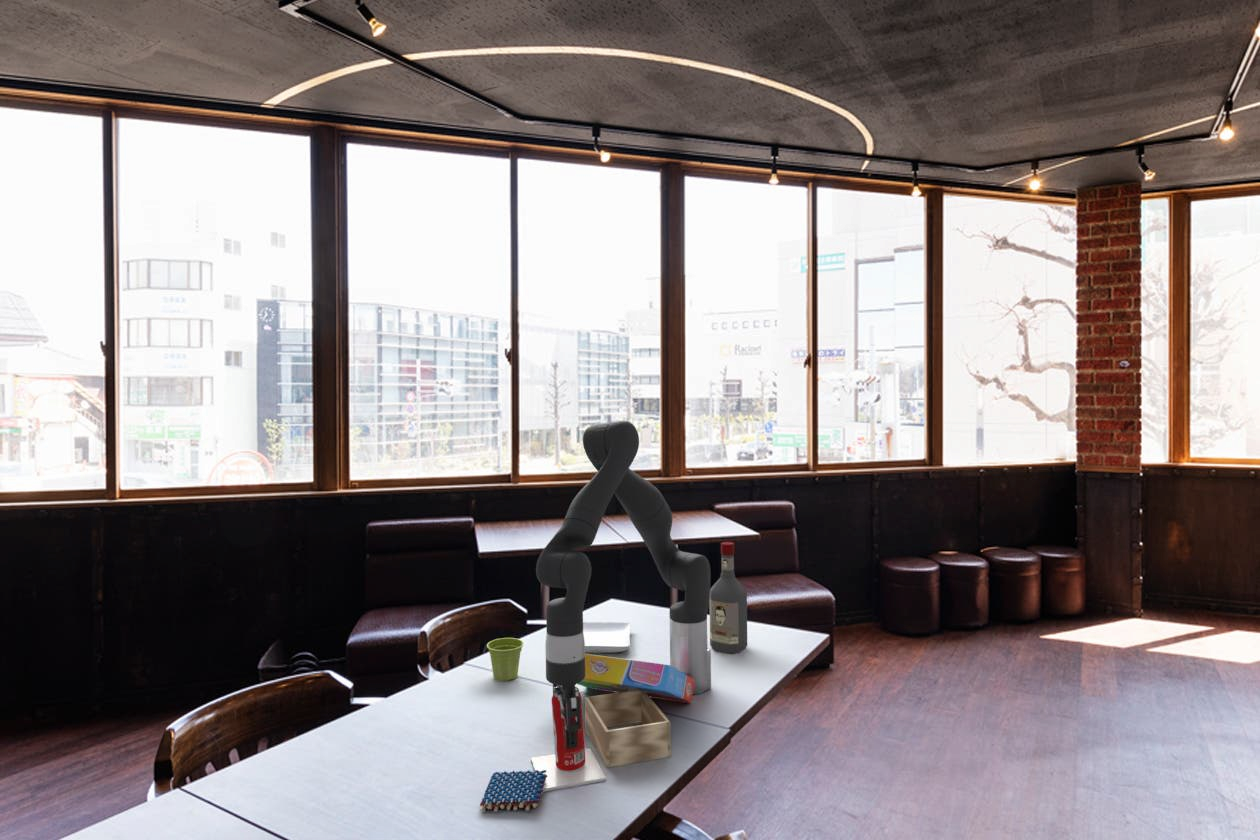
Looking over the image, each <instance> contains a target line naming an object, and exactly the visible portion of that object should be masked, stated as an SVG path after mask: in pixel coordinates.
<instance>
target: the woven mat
mask: <svg viewBox="0 0 1260 840" xmlns="http://www.w3.org/2000/svg"><path fill="white" fill-rule="evenodd" d="M542 773H543V774H542ZM544 773H546V770H543V771H541V770H540V771H538V770H536V771H535V770H533V771H531V770H530V769H528V770H527V771H526V770H524V771H523V770H519V771H515V770H512V771H509V772H507V770H504V771H495V772H494V773H492V775H491V777H490V779H489V782H488V784H487V786H486V789H485V791H484V793H483V795H484V796H483V797H482V798H481V802H480V803H479V806H480V807H481V809H480V812H481V813H482V814H483V813H485V812H486V810H492V809H493V808H494V809H493V812H495V813H497V812H498V810H499V808H500V809H501V810H504V809H505V808H506V810H507V811H511V807H512V806H513V811H517V810H518V808H520V809H523V808H524V807H525V811H526V812H527V811H530V808H531V805H532V807H533V808H534V809H536V808H537V807H538V805H539V804H540V803H541V798H542V793H543V789H542V788H543V786H544V784H545V781H546V777H547V775H546V774H544Z"/></svg>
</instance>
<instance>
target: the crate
mask: <svg viewBox="0 0 1260 840" xmlns="http://www.w3.org/2000/svg"><path fill="white" fill-rule="evenodd" d="M584 721H585V725H584V727H585V729H584V730H585V731H586V733H587V735H588V736H589V738H590V740H591V742H592V744H593V746H594V747H595V748H594V749H596V752H598V756H600V758H601V760H602V762H603V764H604V765H605V767H606V768H607V769H608V768H612V767H618V766H619V767H620V766H625V765H629V764H630V765H631V764H635V763H642V762H646V761H647V762H648V761H653V760H659V759H664V758H670V757H671V721H670V720H669V719H668V718H667V716H666V715H665V714H664V713H663V711H662V710H661V709H660V708H659V706H658V705H657V704H656V703H655V702H654V701H653V700H652V697H649V696H648V695H647V693H646V692H645V691H644V690H643V689H639V690H632V691H625V692H612V693H606V694H599V695H590V696H585V697H584ZM635 723H636V724H637V723H642V724H639V725H633V726H628V727H627V726H626V727H621V728H620V727H619V728H613V729H608V728H609V727H615V726H616V727H617V726H622V725H629V724H635Z"/></svg>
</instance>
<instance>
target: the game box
mask: <svg viewBox="0 0 1260 840" xmlns="http://www.w3.org/2000/svg"><path fill="white" fill-rule="evenodd" d="M576 685H578V686H582V687H584V688H587V689H594V690H601V691H607V692H612V693H618V692H625V691H632V690H639V689H643V690H644V691H645V692H646V693H647V695H648V696H649V697H650V698H653V699H654V698H655V699H660V700H667V701H674V702H679V703H680V702H681V703H688V704H691V703H692V701H693V695H694V694H693V687H694V679H692V678H690V677H689V676H687V675H685V674H684V673H682V672H680V671H678V670H677V669H675V668H673V667H672V666H670V664H664V663H659V662H658V663H657V662H649V661H648V662H647V661H642V660H636V659H635V660H633V659H629V658H628V659H626V658H619V657H613V656H605V655H599V654H598V655H597V654H592V653H585V678H584V679H583V680H582V681H581V682H579V683H577V684H576Z"/></svg>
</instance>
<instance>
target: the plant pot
mask: <svg viewBox="0 0 1260 840" xmlns="http://www.w3.org/2000/svg"><path fill="white" fill-rule="evenodd" d="M523 646H524V641H523V640H522V639H520V638H515V637H503V638H496V639H493V640H491V641H489V642H488V643H486V647H487V650H488V652H489V655H490V661H491V669H492V676H493V678H494V679H495V681H497V682H499V681H500V682H508V681H510V680H515V679H516V678H517V677H518V674H519V668H520V667H519V665H520V657H521V652H522V648H523Z"/></svg>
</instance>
